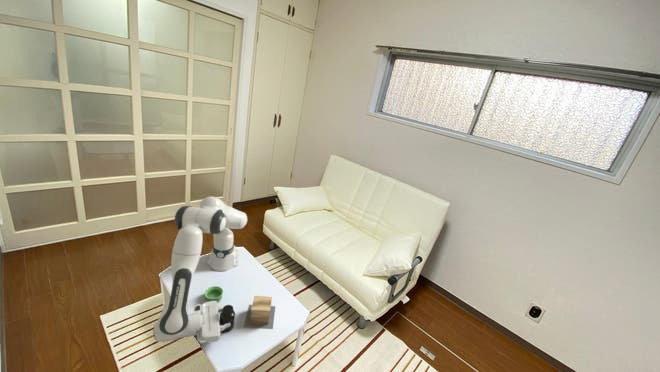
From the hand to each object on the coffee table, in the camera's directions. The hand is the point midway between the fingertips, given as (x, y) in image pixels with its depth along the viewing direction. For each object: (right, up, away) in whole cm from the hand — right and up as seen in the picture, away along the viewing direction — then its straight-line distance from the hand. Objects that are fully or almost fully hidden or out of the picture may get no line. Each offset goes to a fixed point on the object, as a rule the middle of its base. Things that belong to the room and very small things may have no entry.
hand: (229, 316), depth 126 cm
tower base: (+12, -5, +11) cm, 17 cm away
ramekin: (-14, +2, +16) cm, 22 cm away
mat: (+12, -5, +11) cm, 17 cm away
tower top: (+13, -1, +9) cm, 16 cm away
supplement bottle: (-2, -6, +2) cm, 7 cm away
